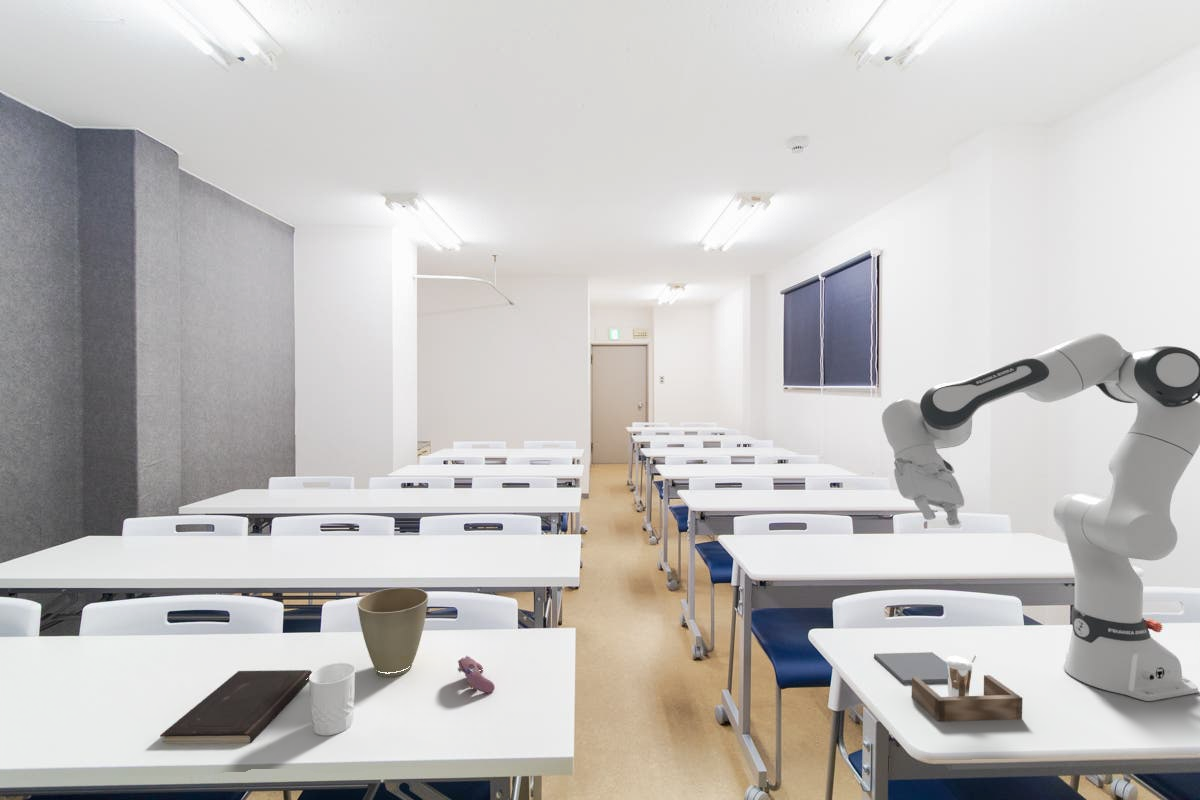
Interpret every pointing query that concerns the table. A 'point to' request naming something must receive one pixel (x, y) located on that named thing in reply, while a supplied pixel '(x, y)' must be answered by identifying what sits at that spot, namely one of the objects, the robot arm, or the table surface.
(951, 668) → the milkshake
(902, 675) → the grey pad
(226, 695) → the hardcover book
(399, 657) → the plant pot
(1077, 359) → the robot arm
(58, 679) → the table surface
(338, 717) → the white cup
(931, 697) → the walnut cubby
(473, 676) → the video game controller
